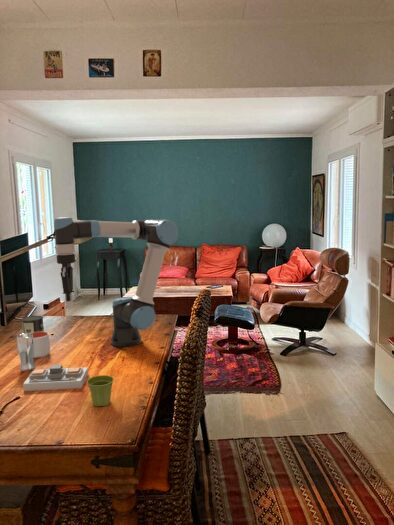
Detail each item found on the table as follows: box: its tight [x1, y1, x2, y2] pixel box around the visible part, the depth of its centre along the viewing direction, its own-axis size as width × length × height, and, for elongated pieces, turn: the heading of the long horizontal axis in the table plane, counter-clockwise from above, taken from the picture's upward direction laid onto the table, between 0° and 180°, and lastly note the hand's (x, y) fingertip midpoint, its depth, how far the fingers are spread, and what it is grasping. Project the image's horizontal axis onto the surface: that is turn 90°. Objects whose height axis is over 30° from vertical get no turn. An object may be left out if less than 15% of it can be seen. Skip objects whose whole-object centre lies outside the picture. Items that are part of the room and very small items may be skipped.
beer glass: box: [16, 333, 36, 372], centre depth 195 cm, size 7×7×15 cm
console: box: [22, 366, 89, 392], centre depth 179 cm, size 22×14×4 cm, turn 93°
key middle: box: [49, 364, 64, 373], centre depth 179 cm, size 4×4×2 cm
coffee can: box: [21, 315, 45, 334], centre depth 227 cm, size 10×10×14 cm
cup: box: [31, 331, 51, 359], centre depth 212 cm, size 10×10×10 cm
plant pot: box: [86, 374, 115, 407], centre depth 159 cm, size 9×9×9 cm
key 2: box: [68, 366, 81, 373], centre depth 180 cm, size 4×4×2 cm
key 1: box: [31, 368, 45, 375], centre depth 179 cm, size 4×4×2 cm
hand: (69, 307), depth 193 cm, fingers closed
